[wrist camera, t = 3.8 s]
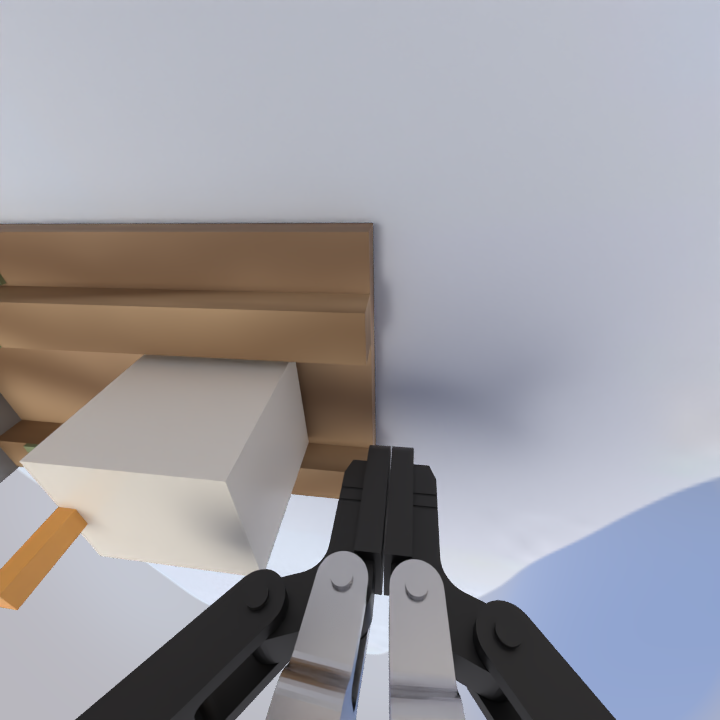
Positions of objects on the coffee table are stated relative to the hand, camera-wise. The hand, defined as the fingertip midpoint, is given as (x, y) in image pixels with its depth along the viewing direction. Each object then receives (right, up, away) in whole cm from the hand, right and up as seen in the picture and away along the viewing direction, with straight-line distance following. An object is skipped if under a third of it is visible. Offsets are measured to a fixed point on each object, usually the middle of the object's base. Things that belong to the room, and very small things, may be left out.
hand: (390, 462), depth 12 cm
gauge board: (-11, +3, +5) cm, 13 cm away
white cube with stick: (-7, +2, +3) cm, 8 cm away
